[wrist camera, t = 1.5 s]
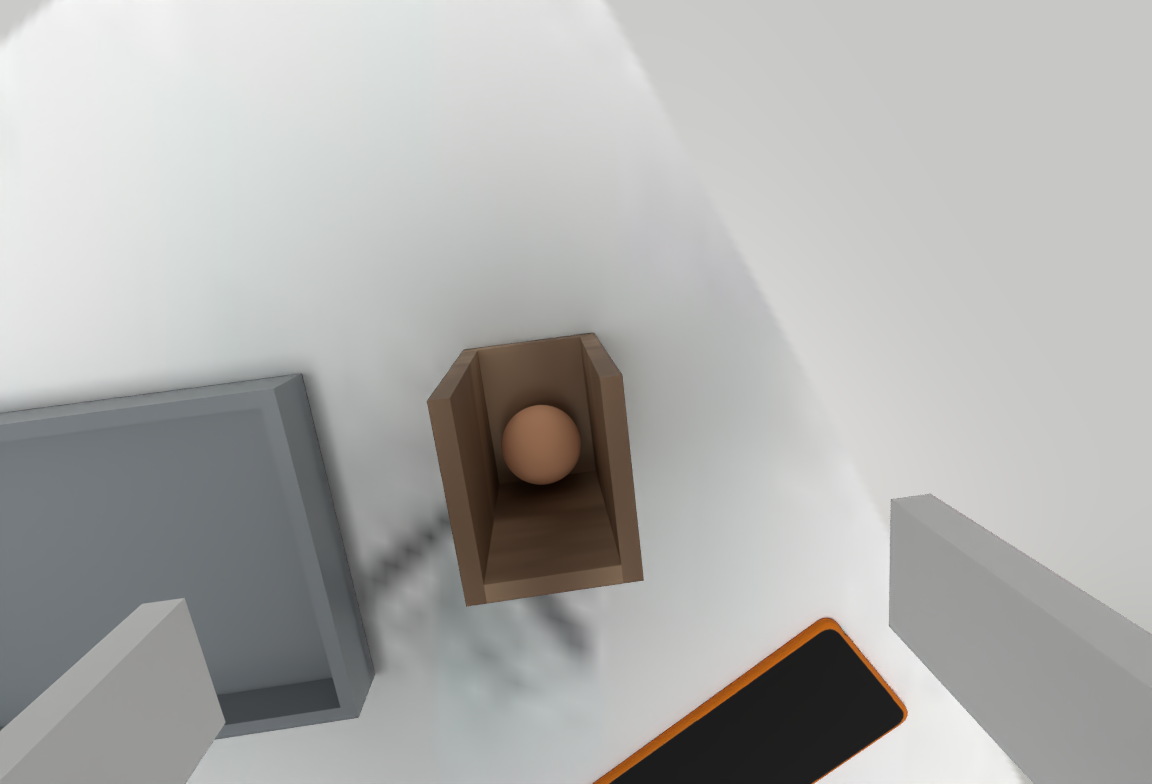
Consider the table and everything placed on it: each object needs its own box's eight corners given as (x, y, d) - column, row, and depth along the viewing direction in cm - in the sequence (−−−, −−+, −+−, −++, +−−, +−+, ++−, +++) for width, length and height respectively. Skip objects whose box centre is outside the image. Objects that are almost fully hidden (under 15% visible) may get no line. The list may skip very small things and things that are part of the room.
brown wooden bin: (488, 493, 25) (466, 606, 17) (463, 349, 23) (427, 401, 15) (610, 476, 25) (643, 580, 17) (593, 332, 23) (622, 374, 16)
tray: (-35, 735, 26) (-95, 786, 23) (-174, 436, 22) (-260, 459, 20) (374, 674, 26) (358, 717, 24) (301, 373, 23) (273, 388, 20)
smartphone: (554, 804, 29) (554, 820, 28) (824, 607, 28) (833, 618, 27) (645, 886, 31) (648, 904, 30) (905, 706, 29) (916, 719, 28)
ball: (510, 479, 24) (503, 498, 21) (499, 406, 23) (491, 415, 20) (583, 470, 24) (587, 487, 21) (574, 396, 23) (576, 403, 20)
